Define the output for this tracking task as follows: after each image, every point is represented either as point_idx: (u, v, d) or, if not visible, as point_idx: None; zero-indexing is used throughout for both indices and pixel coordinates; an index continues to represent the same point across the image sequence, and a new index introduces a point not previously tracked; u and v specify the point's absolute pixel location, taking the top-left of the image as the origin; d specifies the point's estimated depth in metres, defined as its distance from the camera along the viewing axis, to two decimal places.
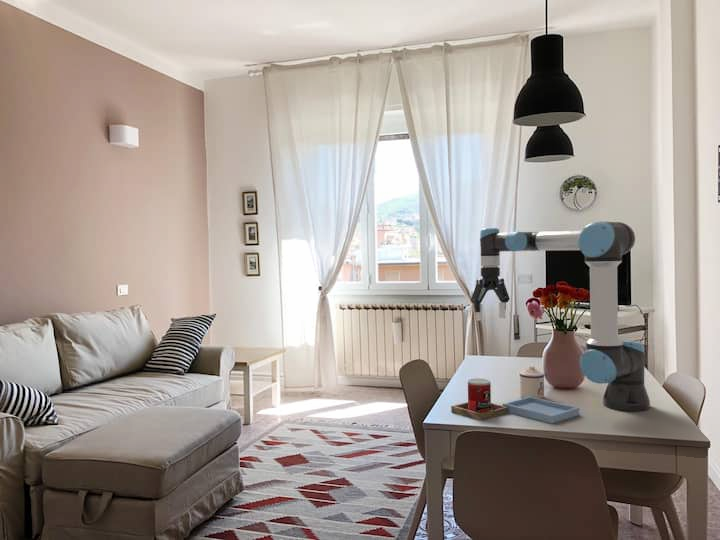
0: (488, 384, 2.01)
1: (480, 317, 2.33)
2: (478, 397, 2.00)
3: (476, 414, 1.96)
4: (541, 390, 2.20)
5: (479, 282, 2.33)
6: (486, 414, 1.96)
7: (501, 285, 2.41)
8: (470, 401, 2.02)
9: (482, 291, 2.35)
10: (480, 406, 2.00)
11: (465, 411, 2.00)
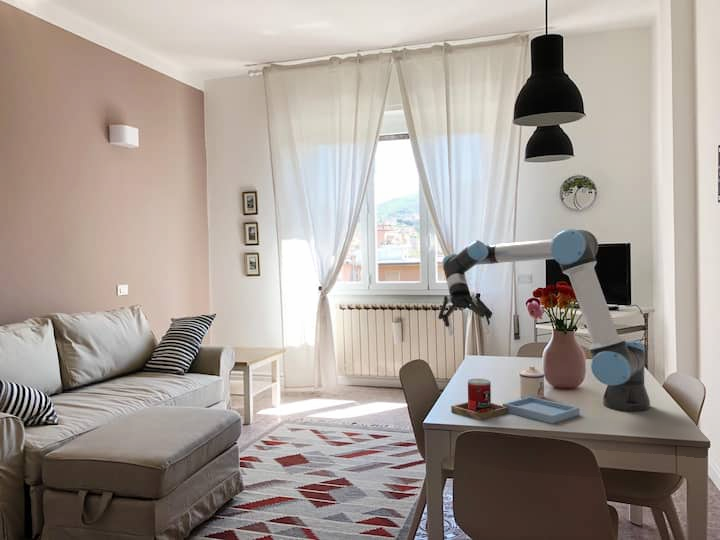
0: (488, 384, 2.01)
1: (450, 328, 2.14)
2: (478, 397, 2.00)
3: (476, 414, 1.96)
4: (541, 390, 2.20)
5: (444, 299, 2.23)
6: (486, 414, 1.96)
7: (478, 302, 2.24)
8: (470, 401, 2.02)
9: None
10: (480, 406, 2.00)
11: (465, 411, 2.00)
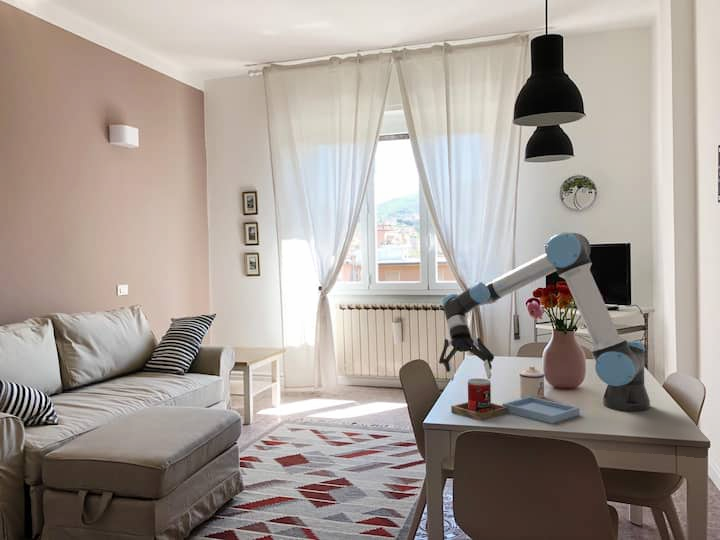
0: (488, 384, 2.01)
1: (451, 374, 2.09)
2: (478, 397, 2.00)
3: (476, 414, 1.96)
4: (541, 390, 2.20)
5: (444, 343, 2.19)
6: (486, 414, 1.96)
7: (479, 345, 2.19)
8: (470, 401, 2.02)
9: None
10: (480, 406, 2.00)
11: (465, 411, 2.00)
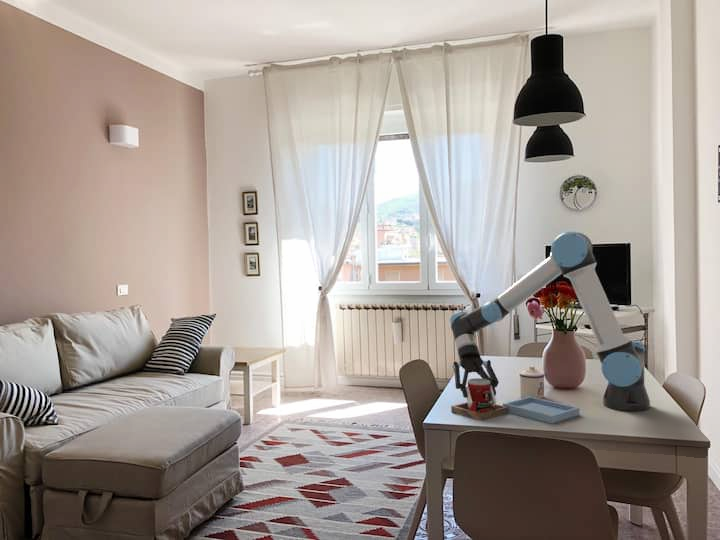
0: (488, 384, 2.01)
1: (469, 400, 2.00)
2: (478, 396, 2.00)
3: (476, 414, 1.96)
4: (541, 390, 2.20)
5: (454, 366, 2.10)
6: (486, 414, 1.96)
7: (487, 367, 2.10)
8: None
9: (464, 374, 2.08)
10: (480, 406, 2.00)
11: (465, 411, 2.00)
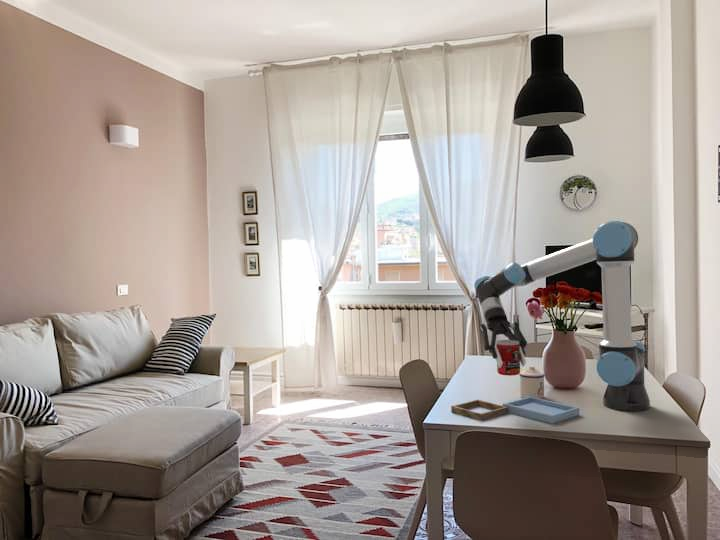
0: (517, 344, 2.00)
1: (499, 360, 1.99)
2: (508, 357, 1.99)
3: (476, 414, 1.96)
4: (541, 390, 2.20)
5: (482, 328, 2.09)
6: (486, 414, 1.96)
7: (515, 329, 2.10)
8: None
9: (492, 336, 2.07)
10: (510, 366, 1.99)
11: (465, 411, 2.00)
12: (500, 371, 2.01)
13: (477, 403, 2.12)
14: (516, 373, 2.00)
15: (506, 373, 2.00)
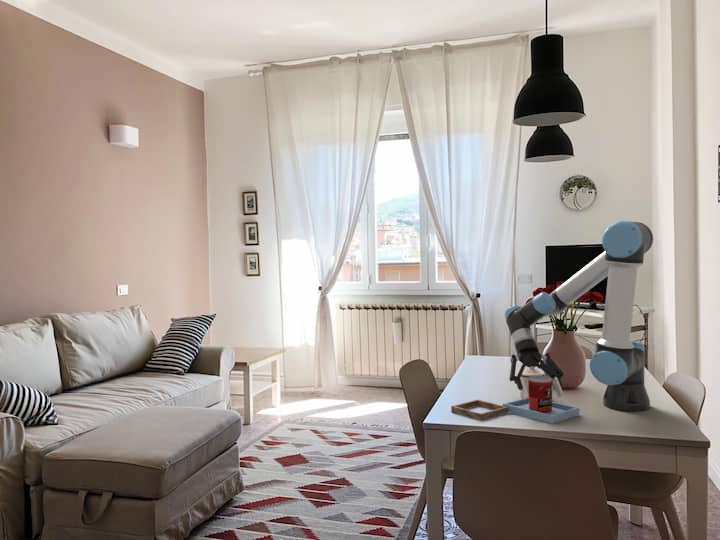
0: (550, 381, 1.99)
1: (525, 392, 1.98)
2: (541, 394, 1.98)
3: (476, 414, 1.96)
4: None
5: (512, 358, 2.08)
6: (486, 414, 1.96)
7: (547, 360, 2.09)
8: (531, 398, 2.00)
9: None
10: (542, 404, 1.98)
11: (465, 411, 2.00)
12: (532, 408, 2.00)
13: (477, 403, 2.12)
14: (548, 410, 1.98)
15: (538, 410, 1.98)
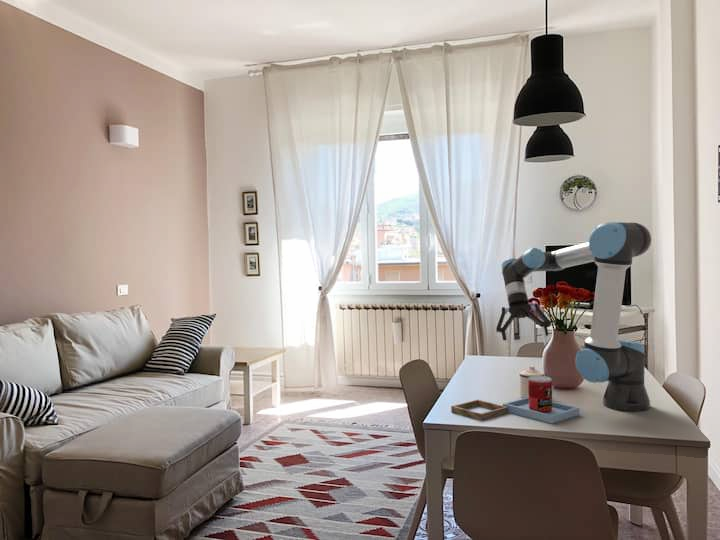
0: (550, 381, 1.99)
1: (507, 343, 2.20)
2: (541, 394, 1.98)
3: (476, 414, 1.96)
4: None
5: None
6: (486, 414, 1.96)
7: (536, 311, 2.25)
8: (531, 398, 2.00)
9: None
10: (542, 404, 1.98)
11: (465, 411, 2.00)
12: (532, 408, 2.00)
13: (477, 403, 2.12)
14: (548, 410, 1.98)
15: (538, 410, 1.98)
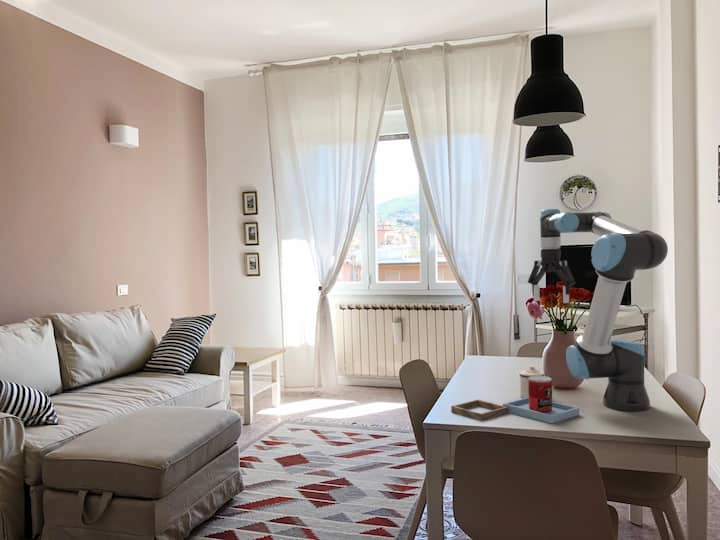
0: (550, 381, 1.99)
1: None
2: (541, 394, 1.98)
3: (476, 414, 1.96)
4: None
5: None
6: (486, 414, 1.96)
7: None
8: (531, 398, 2.00)
9: None
10: (542, 404, 1.98)
11: (465, 411, 2.00)
12: (532, 408, 2.00)
13: (477, 403, 2.12)
14: (548, 410, 1.98)
15: (538, 410, 1.98)
